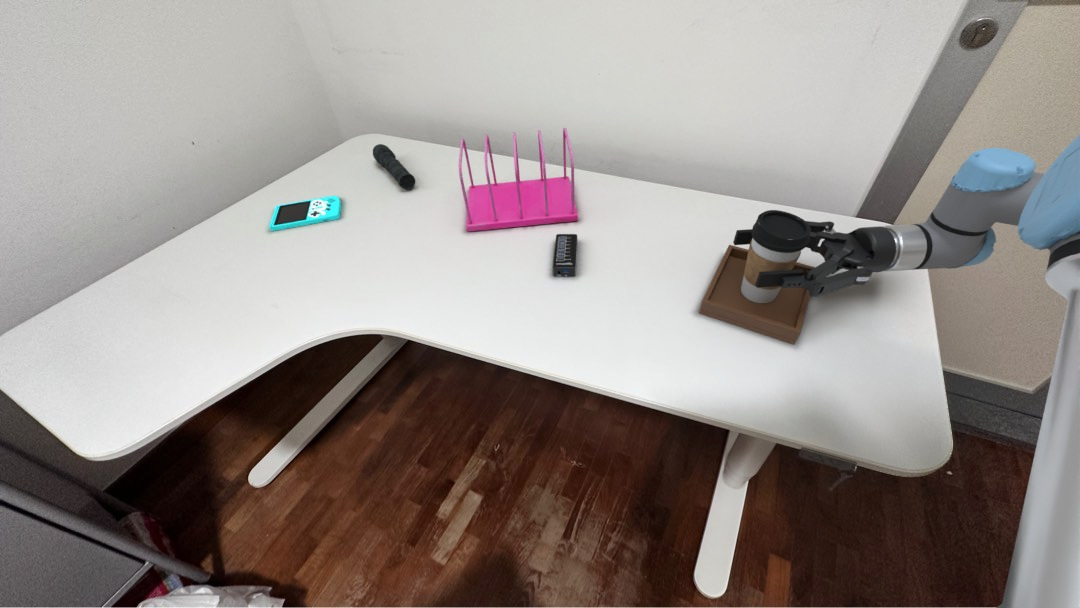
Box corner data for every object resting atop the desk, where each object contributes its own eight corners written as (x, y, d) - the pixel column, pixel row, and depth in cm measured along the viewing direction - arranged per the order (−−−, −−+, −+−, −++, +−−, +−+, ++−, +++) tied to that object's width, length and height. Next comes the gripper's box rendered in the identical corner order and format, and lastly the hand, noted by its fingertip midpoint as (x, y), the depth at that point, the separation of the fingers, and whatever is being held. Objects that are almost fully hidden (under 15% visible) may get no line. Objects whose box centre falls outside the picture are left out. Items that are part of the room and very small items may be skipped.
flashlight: (391, 157, 130) (386, 141, 127) (419, 187, 118) (414, 170, 114) (375, 163, 129) (369, 146, 125) (401, 194, 116) (395, 176, 112)
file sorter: (578, 222, 102) (577, 156, 91) (467, 232, 102) (453, 168, 91) (569, 182, 115) (567, 120, 103) (470, 191, 114) (457, 131, 103)
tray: (794, 344, 74) (800, 332, 72) (698, 313, 80) (701, 301, 78) (811, 280, 84) (817, 267, 82) (725, 256, 91) (729, 244, 89)
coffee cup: (742, 270, 86) (765, 202, 75) (789, 286, 82) (820, 217, 72) (726, 297, 81) (748, 228, 71) (775, 315, 78) (806, 245, 67)
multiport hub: (577, 242, 97) (577, 233, 95) (575, 276, 89) (575, 267, 88) (556, 242, 98) (556, 233, 96) (553, 276, 90) (552, 267, 88)
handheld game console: (339, 219, 109) (337, 214, 108) (270, 232, 108) (267, 227, 107) (342, 198, 116) (340, 193, 115) (277, 209, 115) (274, 204, 114)
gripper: (911, 314, 70) (765, 323, 71) (839, 227, 86) (720, 234, 87) (938, 278, 65) (780, 288, 65) (856, 192, 81) (729, 200, 81)
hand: (746, 257), depth 76 cm, fingers open, 10 cm apart
